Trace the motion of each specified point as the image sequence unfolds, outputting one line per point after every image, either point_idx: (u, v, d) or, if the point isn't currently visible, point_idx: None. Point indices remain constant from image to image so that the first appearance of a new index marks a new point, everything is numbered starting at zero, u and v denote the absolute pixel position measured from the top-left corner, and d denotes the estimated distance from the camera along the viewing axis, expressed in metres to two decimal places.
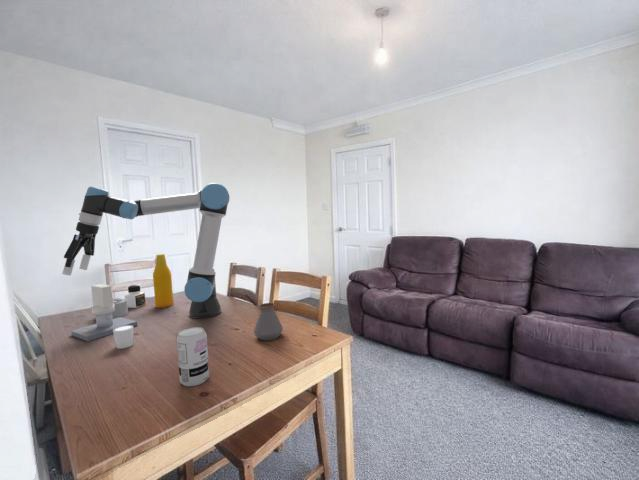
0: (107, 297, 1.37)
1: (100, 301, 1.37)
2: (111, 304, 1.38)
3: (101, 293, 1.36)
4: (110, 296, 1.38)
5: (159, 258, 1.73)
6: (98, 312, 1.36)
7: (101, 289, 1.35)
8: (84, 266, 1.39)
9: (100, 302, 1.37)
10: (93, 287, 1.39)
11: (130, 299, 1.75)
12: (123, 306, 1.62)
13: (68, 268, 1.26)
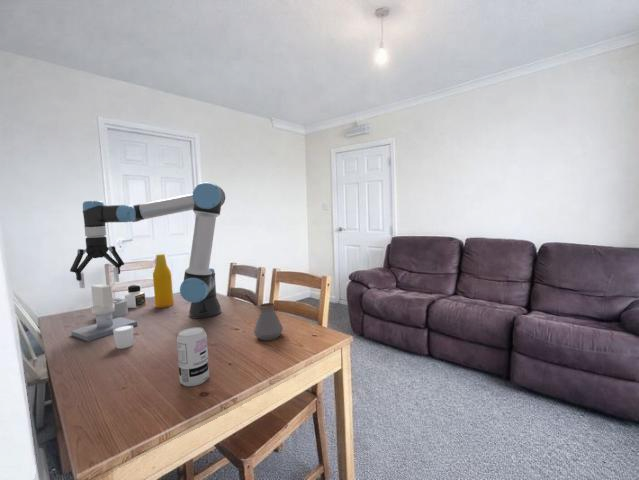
0: (107, 297, 1.37)
1: (100, 301, 1.37)
2: (111, 304, 1.38)
3: (101, 293, 1.36)
4: (110, 296, 1.38)
5: (159, 258, 1.73)
6: (98, 312, 1.36)
7: (101, 289, 1.35)
8: (115, 278, 1.44)
9: (100, 302, 1.37)
10: (93, 287, 1.39)
11: (130, 299, 1.75)
12: (123, 306, 1.62)
13: (80, 281, 1.33)
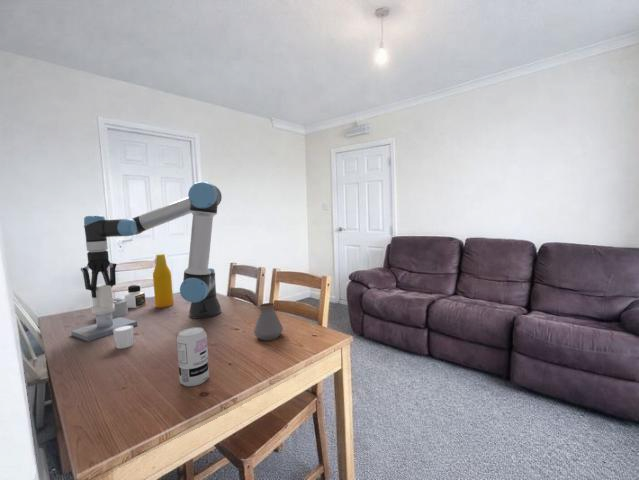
0: (107, 297, 1.37)
1: (100, 301, 1.37)
2: (111, 304, 1.38)
3: (101, 293, 1.36)
4: (110, 296, 1.38)
5: (159, 258, 1.73)
6: (98, 312, 1.36)
7: (101, 289, 1.35)
8: None
9: (100, 302, 1.37)
10: None
11: (130, 299, 1.75)
12: (123, 306, 1.62)
13: (96, 298, 1.37)
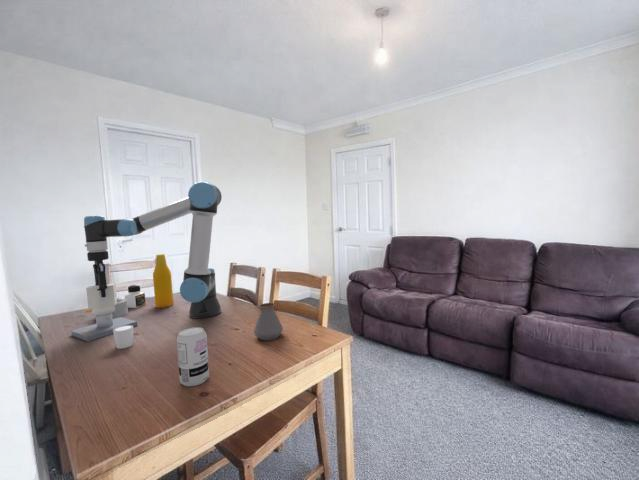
0: (115, 294, 1.41)
1: (108, 300, 1.39)
2: (116, 301, 1.43)
3: (111, 291, 1.39)
4: (115, 293, 1.42)
5: (159, 258, 1.73)
6: (108, 310, 1.38)
7: (111, 286, 1.39)
8: None
9: (108, 300, 1.39)
10: (92, 288, 1.37)
11: (130, 299, 1.75)
12: (123, 306, 1.62)
13: (104, 298, 1.37)
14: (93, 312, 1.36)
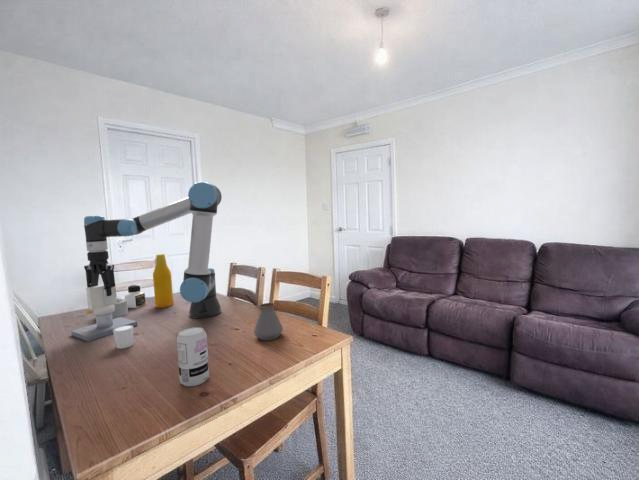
0: None
1: None
2: None
3: (113, 289, 1.42)
4: None
5: (159, 258, 1.73)
6: (113, 308, 1.41)
7: None
8: None
9: (111, 299, 1.41)
10: (95, 289, 1.36)
11: (130, 299, 1.75)
12: (123, 306, 1.62)
13: (108, 297, 1.39)
14: (98, 312, 1.36)
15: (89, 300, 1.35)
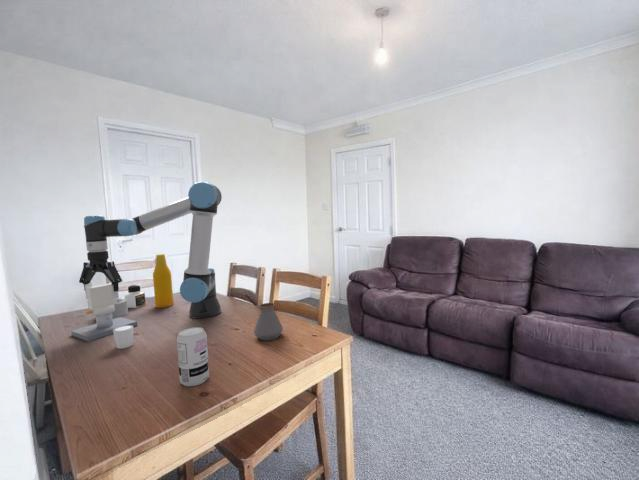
0: None
1: (110, 299, 1.41)
2: None
3: None
4: None
5: (159, 258, 1.73)
6: (113, 308, 1.41)
7: None
8: None
9: (111, 299, 1.41)
10: (95, 289, 1.36)
11: (130, 299, 1.75)
12: (123, 306, 1.62)
13: (115, 292, 1.38)
14: (99, 312, 1.36)
15: (89, 300, 1.35)
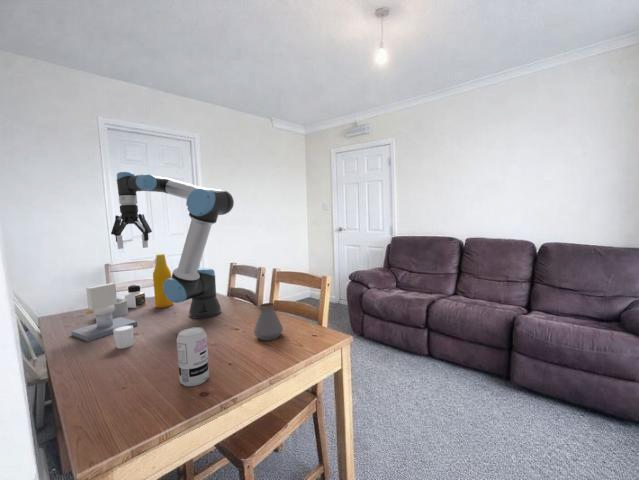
0: None
1: (110, 299, 1.41)
2: None
3: (113, 289, 1.42)
4: None
5: (159, 258, 1.73)
6: (113, 308, 1.41)
7: (113, 285, 1.42)
8: (121, 245, 1.56)
9: (111, 299, 1.41)
10: (95, 289, 1.36)
11: (130, 299, 1.75)
12: (123, 306, 1.62)
13: (145, 242, 1.53)
14: (99, 312, 1.36)
15: (89, 300, 1.35)
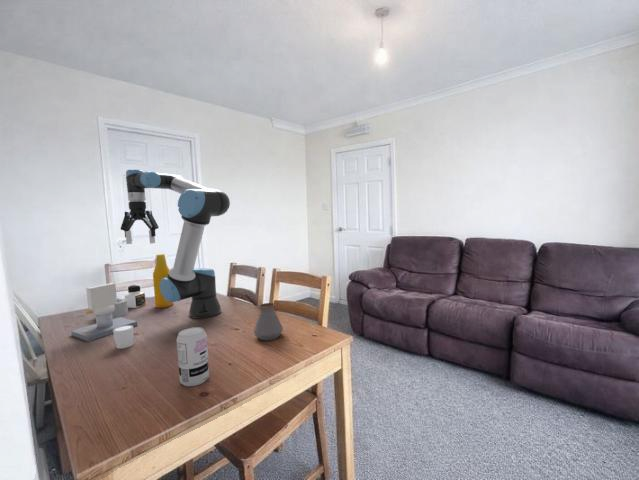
0: None
1: (110, 299, 1.41)
2: None
3: (113, 289, 1.42)
4: None
5: (159, 258, 1.73)
6: (113, 308, 1.41)
7: (113, 285, 1.42)
8: (130, 240, 1.61)
9: (111, 299, 1.41)
10: (95, 289, 1.36)
11: (130, 299, 1.75)
12: (123, 306, 1.62)
13: (153, 237, 1.58)
14: (99, 312, 1.36)
15: (89, 300, 1.35)
